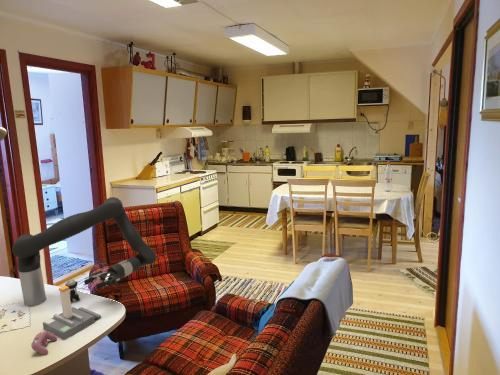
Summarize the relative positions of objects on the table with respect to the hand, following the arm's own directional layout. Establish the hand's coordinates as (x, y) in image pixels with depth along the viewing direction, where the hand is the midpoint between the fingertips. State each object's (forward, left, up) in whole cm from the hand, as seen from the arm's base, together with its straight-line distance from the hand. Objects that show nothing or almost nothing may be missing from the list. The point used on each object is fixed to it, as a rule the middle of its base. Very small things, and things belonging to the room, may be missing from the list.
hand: (90, 284), depth 167 cm
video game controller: (+5, -26, -14) cm, 30 cm away
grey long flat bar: (0, -3, -13) cm, 14 cm away
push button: (-18, +1, -14) cm, 23 cm away
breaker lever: (0, -12, -10) cm, 16 cm away
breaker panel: (0, -12, -13) cm, 18 cm away
